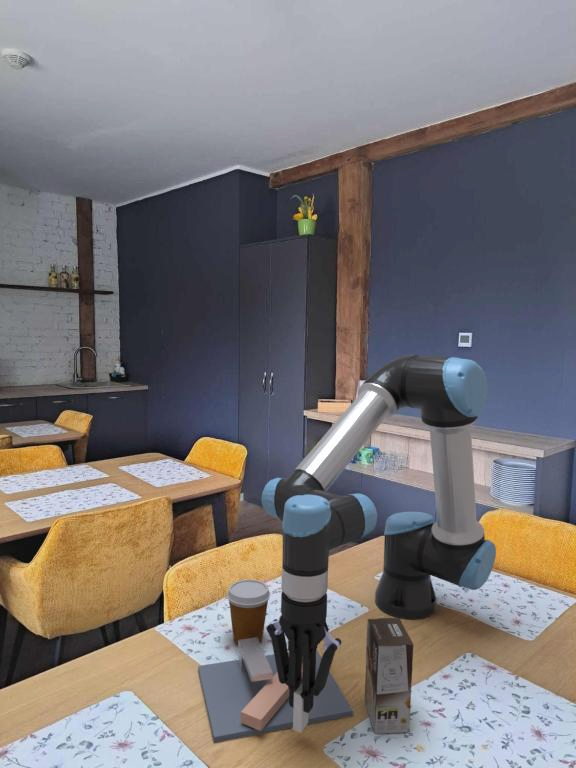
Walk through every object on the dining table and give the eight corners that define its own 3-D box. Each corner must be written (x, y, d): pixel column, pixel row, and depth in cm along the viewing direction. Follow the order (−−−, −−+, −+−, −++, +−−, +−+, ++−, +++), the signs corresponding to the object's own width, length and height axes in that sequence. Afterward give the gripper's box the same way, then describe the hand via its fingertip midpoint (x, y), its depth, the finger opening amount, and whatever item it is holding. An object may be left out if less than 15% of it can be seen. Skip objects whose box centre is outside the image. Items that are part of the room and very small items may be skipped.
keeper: (256, 662, 114) (257, 637, 113) (272, 700, 103) (272, 672, 102) (237, 665, 113) (238, 639, 112) (250, 704, 101) (251, 676, 101)
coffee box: (410, 733, 95) (415, 645, 94) (374, 734, 95) (378, 646, 93) (396, 697, 104) (399, 616, 103) (362, 698, 104) (365, 617, 102)
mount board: (315, 652, 118) (315, 647, 118) (352, 715, 99) (353, 710, 99) (198, 670, 111) (198, 665, 111) (214, 742, 92) (214, 737, 92)
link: (293, 659, 113) (294, 636, 113) (316, 667, 111) (317, 643, 110) (237, 721, 95) (238, 694, 95) (263, 732, 93) (264, 704, 92)
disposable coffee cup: (263, 655, 117) (264, 601, 115) (220, 649, 118) (221, 596, 117) (273, 631, 126) (274, 581, 125) (233, 626, 128) (234, 576, 126)
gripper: (350, 592, 90) (345, 726, 93) (280, 573, 97) (277, 699, 99) (331, 612, 84) (326, 756, 86) (258, 591, 90) (255, 726, 92)
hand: (300, 725), depth 93 cm, fingers closed
